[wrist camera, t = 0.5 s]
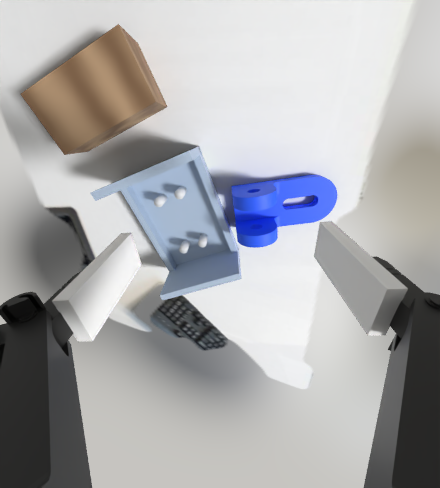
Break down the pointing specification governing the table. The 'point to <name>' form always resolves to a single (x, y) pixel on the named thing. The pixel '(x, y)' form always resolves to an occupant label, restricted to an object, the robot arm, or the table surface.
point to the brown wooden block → (96, 93)
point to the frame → (182, 222)
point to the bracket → (279, 206)
